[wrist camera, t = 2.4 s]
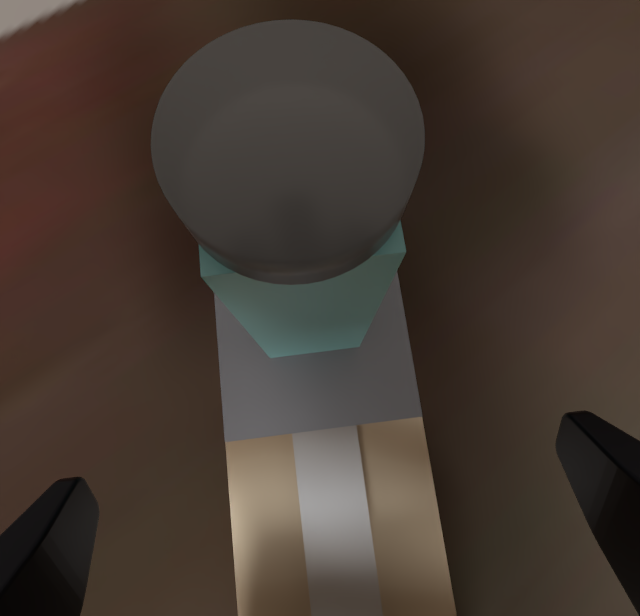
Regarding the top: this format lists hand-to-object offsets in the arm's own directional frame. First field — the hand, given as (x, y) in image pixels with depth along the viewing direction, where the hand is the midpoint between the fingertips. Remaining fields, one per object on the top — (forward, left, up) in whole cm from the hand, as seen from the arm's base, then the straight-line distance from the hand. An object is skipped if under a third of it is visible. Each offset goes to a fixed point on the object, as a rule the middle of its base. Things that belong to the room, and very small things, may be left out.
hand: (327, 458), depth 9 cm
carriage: (+3, -3, -8) cm, 9 cm away
